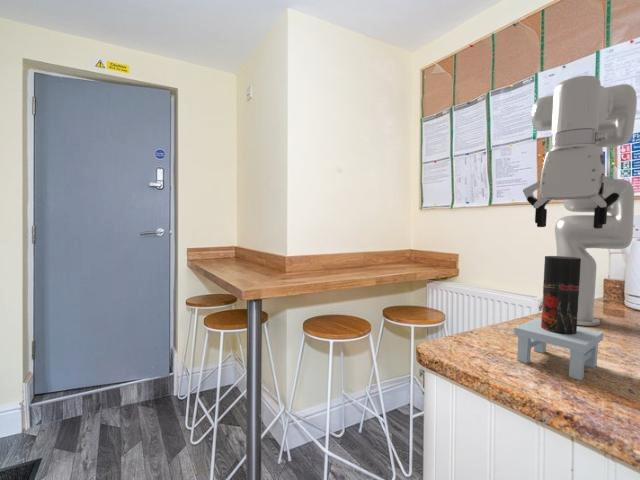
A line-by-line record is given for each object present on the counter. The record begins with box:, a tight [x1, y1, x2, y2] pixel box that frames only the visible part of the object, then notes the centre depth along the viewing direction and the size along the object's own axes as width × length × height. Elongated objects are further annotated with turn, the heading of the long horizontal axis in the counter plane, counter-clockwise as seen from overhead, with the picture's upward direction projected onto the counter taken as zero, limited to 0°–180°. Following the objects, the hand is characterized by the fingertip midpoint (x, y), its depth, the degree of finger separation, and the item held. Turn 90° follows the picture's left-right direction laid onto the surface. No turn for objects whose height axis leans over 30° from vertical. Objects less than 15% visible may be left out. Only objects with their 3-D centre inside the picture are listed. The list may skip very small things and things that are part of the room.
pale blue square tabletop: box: [513, 317, 604, 381], centre depth 68 cm, size 12×12×7 cm
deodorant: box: [541, 255, 581, 335], centre depth 68 cm, size 6×6×15 cm
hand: (568, 227), depth 68 cm, fingers open, 9 cm apart
